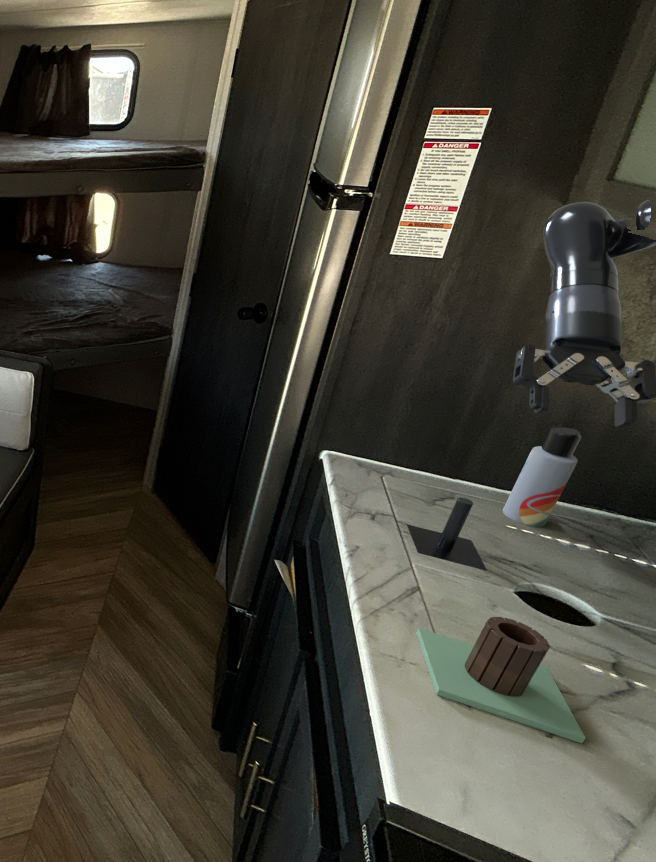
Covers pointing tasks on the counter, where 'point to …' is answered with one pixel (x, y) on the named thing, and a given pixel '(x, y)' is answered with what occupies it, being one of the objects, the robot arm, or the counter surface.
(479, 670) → the brown grooved hollow cylinder
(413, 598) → the counter surface
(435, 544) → the peg stand
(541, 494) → the lotion bottle
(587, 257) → the robot arm
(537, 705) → the mat
